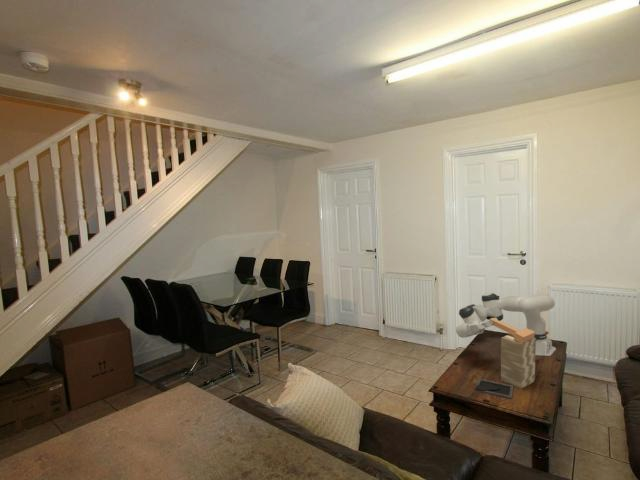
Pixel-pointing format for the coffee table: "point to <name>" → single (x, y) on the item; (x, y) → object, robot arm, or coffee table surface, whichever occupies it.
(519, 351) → the pedestal
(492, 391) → the picture frame
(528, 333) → the t bar
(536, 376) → the mug
